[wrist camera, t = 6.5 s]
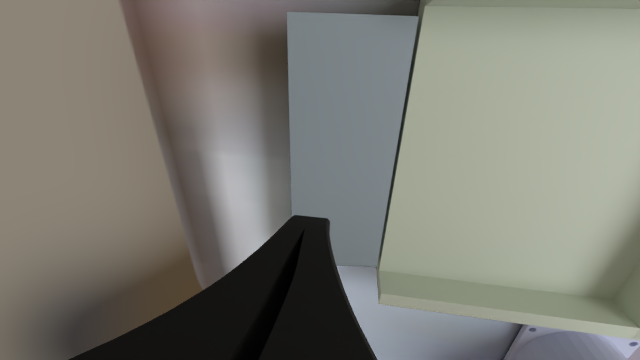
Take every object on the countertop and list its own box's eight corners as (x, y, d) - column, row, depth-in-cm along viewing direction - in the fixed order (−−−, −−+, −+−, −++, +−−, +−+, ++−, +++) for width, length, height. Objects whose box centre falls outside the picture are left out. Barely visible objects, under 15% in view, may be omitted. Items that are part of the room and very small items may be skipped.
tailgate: (376, 266, 19) (292, 264, 19) (372, 250, 20) (294, 248, 20) (418, 16, 12) (286, 11, 12) (407, 20, 13) (290, 16, 13)
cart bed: (601, 293, 19) (649, 341, 16) (376, 265, 21) (378, 304, 18) (822, -13, 11) (1007, -38, 8) (422, -14, 13) (442, -36, 10)
